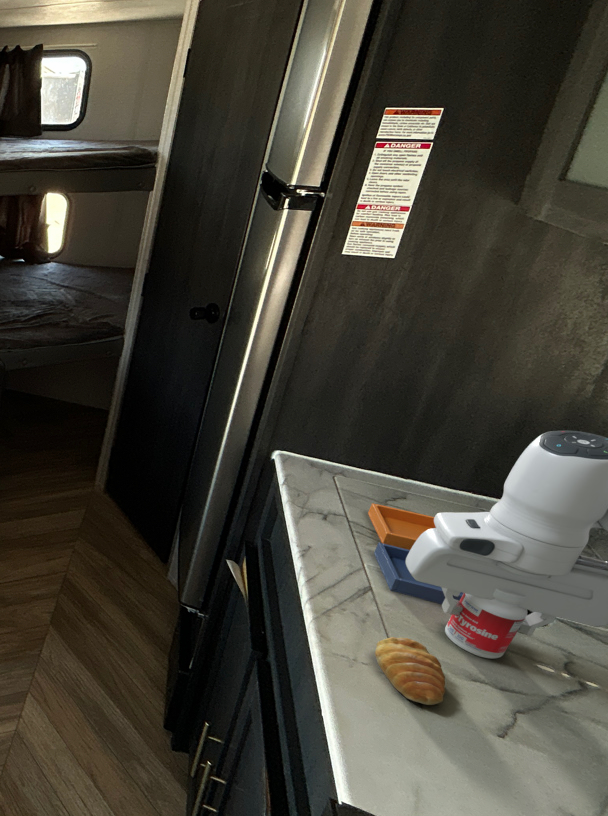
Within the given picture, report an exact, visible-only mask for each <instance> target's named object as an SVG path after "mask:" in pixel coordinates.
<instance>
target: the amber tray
mask: <svg viewBox="0 0 608 816" xmlns="http://www.w3.org/2000/svg"><path fill="white" fill-rule="evenodd" d="M367 515H368V517H369V519H370V522H371V523H372V525H373V528H374V530H375V532H376V534H377V536H378V538H379V540H380V543H383V544H387V545H391V546H395V547H400V548H404V549H408V550H411V548H412V546H413V545H414V543H415V542H416V540H417V539H418V538H419V536H420V535H421V534H422V533H423V532H425V531H426V530H428V529H432V528H436V527H435V524H434V518H435V516H432V515H427V514H423V513H419V512H414V511H410V510H406V509H405V510H404V509H401V508H395V507H391V506H387V505H382V504H378V503H372V502H371V505H370V507H369V509H368V512H367Z"/></svg>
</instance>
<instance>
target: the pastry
mask: <svg viewBox="0 0 608 816" xmlns="http://www.w3.org/2000/svg"><path fill="white" fill-rule="evenodd" d="M374 653H375V658H376V661H377V664H378V666H379V668H380V669H381V671H382V672H383V674H384V675H385V678H387V679H388V681H389V683H391V685H392V687H394V689H396V690H397V691H398V692H399V693H400V694H402V695H403V697H405V698H406V699H408V700H409V701H412V702H416V703H420V704H422V705H426V706H434V705H436V704H440V703H442V702H443V701H444V695H445V693H446V689H445V686H446V676H445V674H444V672H443V669H442V664H441V662H440V661H439V659H438V658H437V656H435V655H433V654H431V653H430V651H428V648H427V647H426V646H425V645H424V644H422V643H421V642H419V641H417V640H413V639H410V638H408V637H394V636H393V637H387V638H384V639H382V640H379V641H378V642H377V643H376V647H375V651H374Z"/></svg>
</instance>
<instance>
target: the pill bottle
mask: <svg viewBox="0 0 608 816" xmlns="http://www.w3.org/2000/svg"><path fill="white" fill-rule="evenodd" d="M492 597H494V598H495V599H493V600H490V599H485V598H481V597H478V596H474V595H470V594H466V593H463V595H462V597H461V599H460V604H461V605H462V607H463V610H462V612H460V616H455V615H450V618H449V620H448V621H447V623H446V625H445V628H444V633H445V634H446V636H447V638H449V640H450V641H451V642H452V643H454V644H455V645H456V646H458V647H459V648H461V649H463V650H464V651H466V652H468V653H470V654H472V655H473V656H474V655H475V656H477V657H480V658H484V659H499V658H502V657H503V656H504V654H505V652H506V651H507V649H508V648H509V646H510V644H511V643H512V641H513V639H514V638H515V636H516V635H517V634H518V632H517V631H518V629H519V628H520V626H521V624H522V623H523V621H524V620H525V618H526V616H527V615H528V611H529V610H528V609H524V608H520V607H518V606H517V604H521V603H523V601H524V599H525V596H522V595H518V594H515V593H511V592H507V591H503V590H499V589H496V590H495V592H494V593H493V596H492Z"/></svg>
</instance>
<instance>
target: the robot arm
mask: <svg viewBox="0 0 608 816" xmlns="http://www.w3.org/2000/svg"><path fill="white" fill-rule="evenodd" d="M434 517H435V518H434V524H435V527H436V528H432V529H428V530H426V531H425V532H423V533H422V534H421V535H420V536H419V538H418V539H417V540H416V542H415V543H414V545H413V546H412V548H411V550H410V551H409V553H408V555H407V558H406V566H407V568H408V570H409V572H410V574H411V575H412V576H413V578H414V579H415V580H417V581H420V582H424V583H428V584H431V585H435V586H439V587H441V588H442V590H443V593H444V596H445V600H444V602H443V604H441V609H442V610H443V613H445V614H448V615H450V616H452V615H455V616H460V612H462V610H463V607H462V605H461V604H460V601H459V600H456V599H454V598H453V595H454V596H457V597H458V596H459V594H460V592H462V593H466V594H470V595H474V596H478V597H481V598H485V599H490V600H493V599H495V598H494V597H492V596H493V593H494V592H495V590H496V589H499V590H503V591H507V592H511V593H515V594H518V595H522V596H525V599H524V601H523V603H521V604H517V606H518V607H520V608H524V609H527V611H532V612H531V613H529V614H527V616H526V618H525V620H524V621H523V623H522V624H521V626H520V628H519V629H518V631H517V634H522V635H524V636H525V635H526V636H529V637H532V635H533V634H534V632H535V630H536V629H539V628H542V627H544V626H546V625H549V624H553V623H554V621H555V620H556V619H557V618H559V619H563V620H566V621H571V622H574V623H578V624H582V625H584V626H585V625H586V626H590V627H594V628H601V627H605V626H607V625H608V561H606V560H600V559H596V558H593V557H590V556H586V555H581V554H582V552H583V551H584V549H585V548H586V546H587V545H588V542H589V539H590V532H591V531H590V530H591V529H603V530H605V531H606V532H608V437H607V436H603V435H599V434H596V433H591V432H585V431H578V430H567V429H566V430H552V431H547V432H544V433H542V434H540V435H539V436H537V437H536V438H535V439H533V441H531V442H530V443H529V445H528V446H527V447H525V449H524V450H523V452H522V453H521V454H520V455H519V457H518V458H517V460H516V461H515V463H514V465H513V466H512V468H511V470H510V472H509V474H508V476H507V477H506V479H505V481H504V484H503V493H502V497H501V498H500V499H499V500H498V501H497V502H496V503H495V504H493V506H492V507H491V509H490V510H489V511H477V512H456V511H455V512H452V511H451V512H450V511H448V512H447V511H444V512H438V513H436V514H435V516H434Z"/></svg>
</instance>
